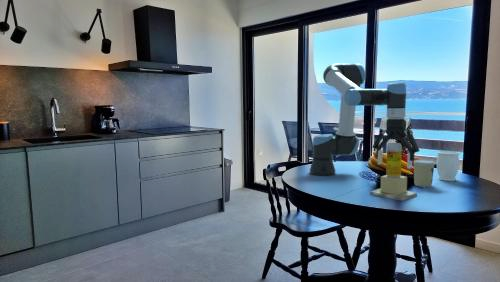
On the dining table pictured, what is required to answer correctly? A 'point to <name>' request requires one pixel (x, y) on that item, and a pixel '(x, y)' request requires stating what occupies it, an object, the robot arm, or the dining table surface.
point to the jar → (447, 165)
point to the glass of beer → (394, 160)
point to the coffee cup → (423, 173)
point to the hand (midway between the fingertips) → (394, 166)
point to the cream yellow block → (393, 185)
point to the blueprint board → (392, 196)
